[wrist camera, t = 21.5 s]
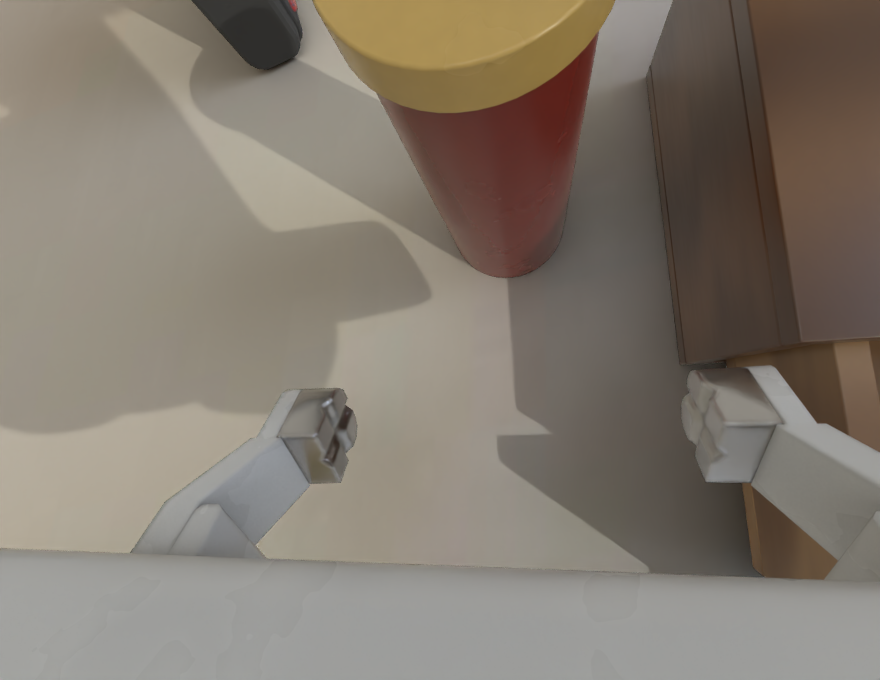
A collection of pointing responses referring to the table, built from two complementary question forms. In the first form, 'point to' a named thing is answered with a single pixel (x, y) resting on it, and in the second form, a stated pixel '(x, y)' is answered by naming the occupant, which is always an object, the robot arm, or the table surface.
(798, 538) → the drawer
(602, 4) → the tea tin
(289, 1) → the card reader
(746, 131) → the cabinet
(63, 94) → the table surface
